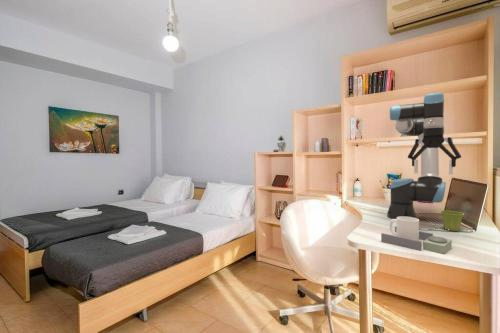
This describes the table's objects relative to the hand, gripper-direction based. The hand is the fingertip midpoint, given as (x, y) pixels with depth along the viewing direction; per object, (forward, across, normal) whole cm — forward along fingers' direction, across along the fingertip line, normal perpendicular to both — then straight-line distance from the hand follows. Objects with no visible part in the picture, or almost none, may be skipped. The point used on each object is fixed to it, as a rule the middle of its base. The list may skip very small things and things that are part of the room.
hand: (432, 173), depth 119 cm
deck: (+29, 0, -18) cm, 34 cm away
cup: (+29, -6, -18) cm, 35 cm away
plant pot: (+29, +4, +17) cm, 34 cm away
